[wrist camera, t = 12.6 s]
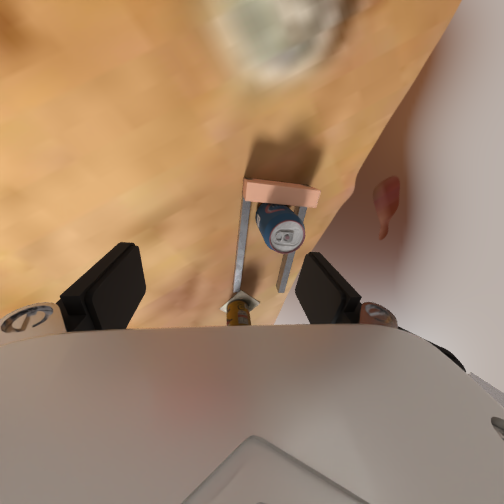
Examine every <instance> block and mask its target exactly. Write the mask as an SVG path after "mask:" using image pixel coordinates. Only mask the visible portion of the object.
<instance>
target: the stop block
mask: <svg viewBox="0 0 504 504" xmlns="http://www.w3.org/2000/svg"><path fill="white" fill-rule="evenodd" d="M252 179H253V178H252ZM320 193H321V191H320V190H318V189H315V188H313V187H306V186H303V185H301V184H294V183H286V182H278V181H269V180H261V179H253V180H248V179H245V178H244V180H243V192H242V194H243V197H244V199H245V201H252V202H262V203H272V204H282V205H292V206H302V207H312V208H316V206H317V203H318V200H319V196H320Z"/></svg>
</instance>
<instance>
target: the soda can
mask: <svg viewBox="0 0 504 504" xmlns="http://www.w3.org/2000/svg"><path fill="white" fill-rule="evenodd" d="M256 223H257V225H258V227H259V230H260V232H261V234H262V236H263V238H264V241H265V243H266V244H267V246H268V247H269V248H270V249H272V250H274V251H276V252H278V253H282V254H288V253H292V252H294V251H296V250H297V249H298V248H299V247H300V246H301V245H302V244H303V242H304V239H305V228H304V224H303V222H302V220H301V219H300V218H299V217H298V216H297V215H296V214H295V213H294V212H293V211H291V210H290V209H289V208H288V207H287V206H286V205H282V204H272V203H263V204H261V205H260V207H259V208H258V210H257V212H256Z"/></svg>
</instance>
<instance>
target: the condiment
mask: <svg viewBox="0 0 504 504" xmlns="http://www.w3.org/2000/svg"><path fill="white" fill-rule="evenodd" d="M240 298H242V299H240ZM259 304H260V303H259V302H258V301H256V300H255V299H253V298H252V297H250V296H249V295H247V294H246V293H244V292H243V291H240V292H239V293H237V294H236V295H235V296H234V297H233V298H232V299H230V300H229V301H228V302H227V303H226V304H225V305H224V306H223V307H221V308H220V310H222V311H224V312H226V313H227V326H248V325H251V321H250V314H249V312H250V311H251V310H252V309H254V308H255V307H256V306H258V305H259Z"/></svg>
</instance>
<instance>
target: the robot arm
mask: <svg viewBox="0 0 504 504" xmlns="http://www.w3.org/2000/svg"><path fill="white" fill-rule="evenodd" d="M145 292H146V284H145V279H144V273H143V268H142V262H141V257H140V251H139V247H138V246H135V244H134V243H125V242H120V243H118V244H117V245H116V246H115V247H114V248H113V249H112V250H111V251H110V252H108V253H107V254H106V255H105V256H104V257H103V258H102V259H101V260H99V261H98V262H97V263H96V264H95V265H94V266H93V267H92V268H90V269H89V270H88V271H87V272H86V273H85V274H84V275H83V276H81V277H80V278H79V279H78V280H77V281H76V282H75V283H74V284H72V285H71V286H70V287H69V288H68V289H67V290H66V291H65V292H64V293H62V294H61V295H60V298H61V299H60V300H59V301H58V302H57V303H56V304H54V303H48V302H44V303H36V304H32V305H28V306H25V307H23V308H20V309H17V310H15V311H13V312H11V313H9V314H8V315H6V316H5V317H3V318H2V319H0V504H504V393H502V392H501V391H499V390H498V389H496V388H495V387H493V386H491V385H490V384H488V383H487V382H485V381H484V380H482V379H481V378H479V377H478V376H476V375H474V374H473V373H471V372H470V373H469V374H466V370H465V368H464V366H463V365H462V364H461V363H460V361H459V360H458V359H457V358H456V357H455V356H454V355H453V354H452V353H451V352H449V351H448V350H446V349H444V348H442V347H439V346H438V345H435V344H433V343H431V342H429V341H427V340H425V339H423V338H421V337H419V336H417V335H415V334H413V333H410V332H408V331H407V330H405V329H402V328H400V327H398V325H397V320H396V317H395V316H394V315H393V314H392V313H391V312H390V311H389V310H388V309H386V308H385V307H383V306H381V305H379V304H376V303H372V302H364V303H363V304H361V303H360V302H359V301H360V300H361V298H362V297H361V296H360V295H359V294H358V293H357V292H356V291H355V289H354V288H353V287H352V286H351V285H350V284H349V283H348V282H347V281H346V280H345V279H344V278H343V277H342V276H341V275H340V274H339V272H338V271H337V270H336V269H335V268H334V267H333V266H332V265H331V264H330V263H329V262H328V261H327V260H326V259H325V258H324V257H323V255H322V254H320V253H319V252H309V253H308V254H306V256H305V259H304V262H303V265H302V269H301V272H300V275H299V279H298V282H297V285H296V289H295V293H296V296H297V298H298V300H299V301H300V304H301V306H302V308H303V310H304V312H305V314H306V316H307V318H308V320H309V322H310V324H296V325H248V326H209V327H175V328H142V329H126V327H127V325H128V323H129V322H130V320H131V318H132V316H133V314H134V313H135V311H136V309H137V307H138V305H139V303H140V302H141V300H142V298H143V296H144V294H145Z"/></svg>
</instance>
